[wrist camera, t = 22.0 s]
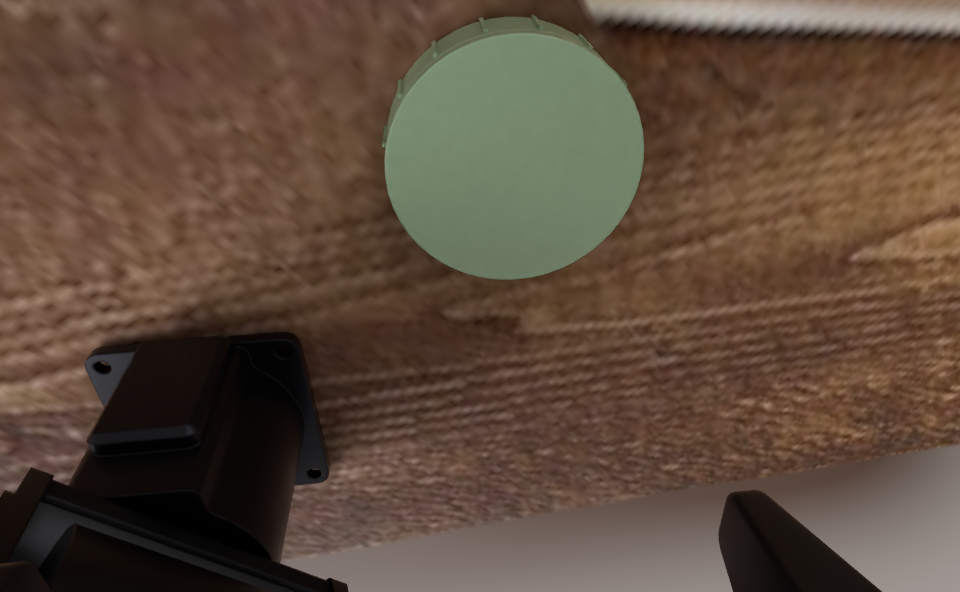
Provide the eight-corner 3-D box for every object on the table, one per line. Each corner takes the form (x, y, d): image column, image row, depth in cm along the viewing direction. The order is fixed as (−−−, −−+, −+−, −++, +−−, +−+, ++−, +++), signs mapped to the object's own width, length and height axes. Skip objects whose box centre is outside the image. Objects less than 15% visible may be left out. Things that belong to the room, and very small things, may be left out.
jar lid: (397, 254, 20) (396, 289, 19) (372, 20, 17) (368, 39, 15) (615, 240, 21) (632, 273, 19) (637, 8, 17) (660, 25, 15)
